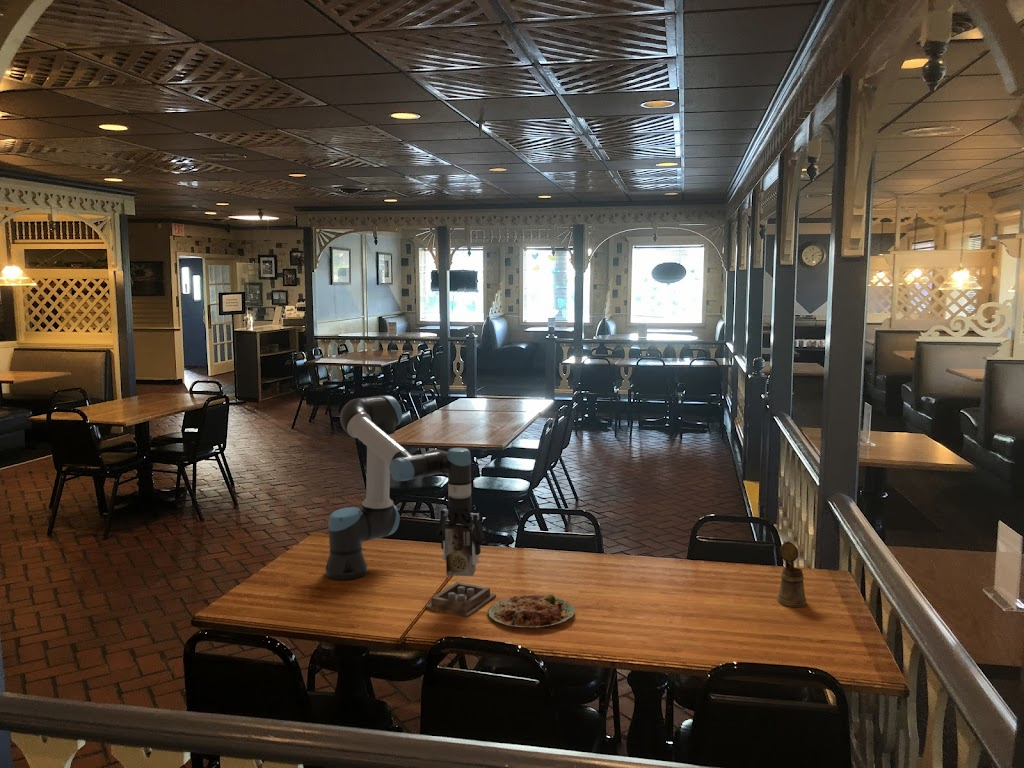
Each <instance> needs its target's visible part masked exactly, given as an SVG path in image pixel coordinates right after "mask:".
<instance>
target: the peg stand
mask: <svg viewBox="0 0 1024 768" xmlns="http://www.w3.org/2000/svg"><path fill="white" fill-rule="evenodd" d="M496 597H497V594H495V593H491V589H490V587H486V586H482V585H475V584H470V583H464V582H459V581H456V582H455V583H453V584H451V585H450V586H448V587H446V588H445V589H444V590H442V591H440V592H438V593H436V595H434V596H432V597H431V599H430V600H431V601H430V602H429V603H428V604H426V605H425V606H424V609H425V608H428V609H427V610H430V609H433V610H432V611H435V610H438V611H437V612H439V611H442V612H441V613H444V612H447V613H446V614H449V613H451V614H450V615H454V614H455V616H458V615H459V617H463V618H469V617H471V616H472V615H473V614H475V613H476V612H477V611H479V610H480V609H481V608H483V607H484V606H485V604H486V605H487V604H488V603H491V601H492V600H494V599H495V598H496ZM482 606H483V607H482ZM478 609H479V610H478Z"/></svg>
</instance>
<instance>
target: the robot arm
mask: <svg viewBox="0 0 1024 768" xmlns="http://www.w3.org/2000/svg"><path fill="white" fill-rule="evenodd" d="M339 418H340V419H339V420H340V424H341V427H342V429H343V430H344V431H345V433H346V434H348V435H349V436H350V437H351V438H355V439H358V441H360V442H362V444H363V445H365V446H366V484H365V485H366V487H365V488H366V489H365V491H366V494H365V499H364V500H362V501H361V509H360V508H359V507H355V506H350V507H343V508H339V509H337V510H334V511H333V512H332V513H331V514H330V515H329V517H328V525H327V527H328V528H327V529H328V539H329V541H328V543H329V545H328V546H329V555H328V558H327V561H326V566H325V568H324V569H325V570H324V571H325V577H326V578H328V579H331V580H334V581H335V580H336V581H349V580H355V579H359V578H362V577H364V576H365V575H367V574H368V564H367V562H366V560H365V556H364V553H363V544H362V543H365V542H367V541H368V542H369V541H372V540H377V539H380V538H385V537H387V536H390V535H393V534H394V533H395V532H396V531H397V530H398V528H399V524H400V519H401V518H400V513H399V510H398V508H397V507H398V506H396V505H395V504H394V501H393V499H391V498H390V491H391V490H390V487H391V486H390V485H391V484H390V483H391V478H390V477H392V479H393V480H394V481H396V482H407V481H411V480H416V479H420V478H425V477H431V476H435V475H445V476H447V478H448V479H447V483H448V484H447V485H448V487H447V490H448V491H447V492H448V493H447V494H448V496H449V497H447V498H448V500H447V501H448V508H449V509H448V508H443V509H442V510H440V511H439V512H440V518H439V522H438V526H437V530H436V532H435V533H436V534H435V538H438V539H440V544H441V545H440V548H441V549H442V552H443V553H442V554H443V555H442V556H443V559H442V560H443V561H446V539H445V528H446V522H447V519H448V516H449V517H450V518H449V521H448V523H447V525H453V524H461V525H464V527H465V528H471V527H472V526H473V525H472V523H474V527H475V529H474V527H473V531H472V541H473V543H474V545H472V565H477V564H478V563H480V562H479V555H481V550H482V549H481V545H483V544H485V543H486V542H487V540H486V536H485V532H484V529H483V525H482V522H481V513H480V512H477V513H474V512H472V457H471V451H470V450H469V449H468V448H466V447H453V448H449V449H448V450H447V451H445V450H442V449H434V448H433V449H432V448H431V449H429V450H427V451H426V452H425V453H419V454H418V453H417V454H412V453H410V452H409V451H408V450H407V449H406V448H405V447H403V446H402V445H401V444H399V443H398V442H397V441H396V440H395V439H393V438H392V436H394V435H395V434H396V427H398V426H399V425H400V424H401V422H402V420H403V411H402V408H401V405H400V403H399V402H398V400H397V399H396V398H395V397H393V396H392V395H373V396H369V397H359V398H358V397H357V398H354V399H350V400H349V401H348V402H347V403H345V405H344V406H343V408H342V409H341V412H340V416H339ZM467 523H468V524H467Z"/></svg>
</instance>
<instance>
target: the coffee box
mask: <svg viewBox="0 0 1024 768" xmlns="http://www.w3.org/2000/svg"><path fill="white" fill-rule="evenodd" d="M467 524H468V522H467ZM472 525H473V526H472V527H471V528H465V527H464V525H461V524H453V525H448V524H447V525H446V526H445V528H444V530H445V539H446V560H445V562H446V563H445V565H446V566H445V568H446V570H445V571H446V572H445V573H446V574H445V575H446V576H449V577H450V576H452V577H454V576H455V577H460V576H461V577H462V576H463V577H466V576H467V577H473V576H474V575H475V573H476V570H477V569H476V568H477V567H476V565H477V564H476V565H472V545H474V543H473V541H472V531H473V527H474V523H473V522H472ZM474 529H475V527H474Z"/></svg>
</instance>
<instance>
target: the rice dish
mask: <svg viewBox="0 0 1024 768" xmlns="http://www.w3.org/2000/svg"><path fill="white" fill-rule="evenodd" d="M575 609H576V607H575V606H574V605H573V603H571V602H569V601H568V600H565V599H562V598H559V597H555V596H554V594H549V593H548V594H547V595H542V594H541V595H539V594H529V595H528V594H527V595H526V594H523V595H517V596H516V595H514V596H511V597H508V598H504V599H501V600H499V601H497V602H495V603H493V604H492V605H491V606H490V607H489V608H488V610H487V615H488V617H489V618H491V619H492V620H493V621H495V622H497V623H500V624H503V625H506V626H511V627H519V628H541V627H542V628H543V627H550V626H555V625H558V624H562V623H565V622H567V621H568V620H570V619H571V618H572V617H573V616H574V615H575V613H576V610H575ZM563 610H564V611H563ZM562 612H565V613H564V614H565V615H563V613H562ZM506 621H507V622H509V623H510V624H507V622H506Z"/></svg>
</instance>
